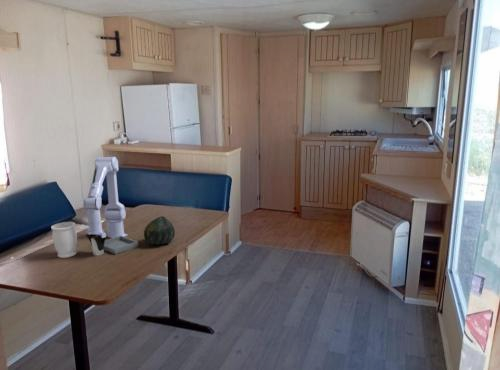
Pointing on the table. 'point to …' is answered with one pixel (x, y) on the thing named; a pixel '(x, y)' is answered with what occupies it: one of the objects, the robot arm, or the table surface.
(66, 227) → the jar
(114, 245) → the tray
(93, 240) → the cup
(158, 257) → the table surface
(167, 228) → the squash
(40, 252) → the table surface
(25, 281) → the table surface
